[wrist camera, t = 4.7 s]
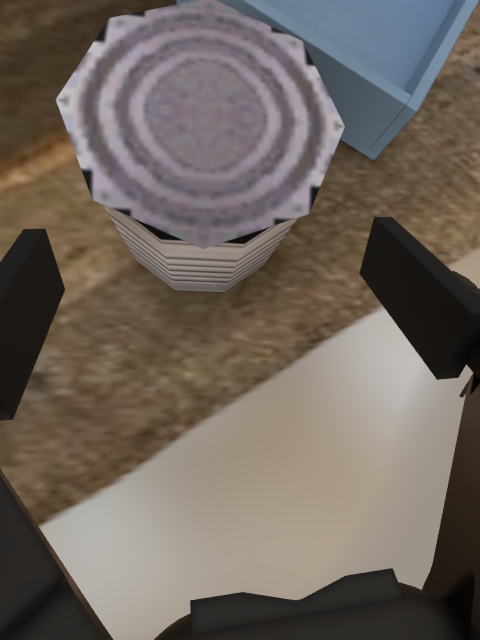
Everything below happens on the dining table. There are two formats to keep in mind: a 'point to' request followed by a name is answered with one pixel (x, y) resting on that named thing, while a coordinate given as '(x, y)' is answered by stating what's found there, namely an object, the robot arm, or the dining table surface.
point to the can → (200, 138)
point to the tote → (369, 55)
